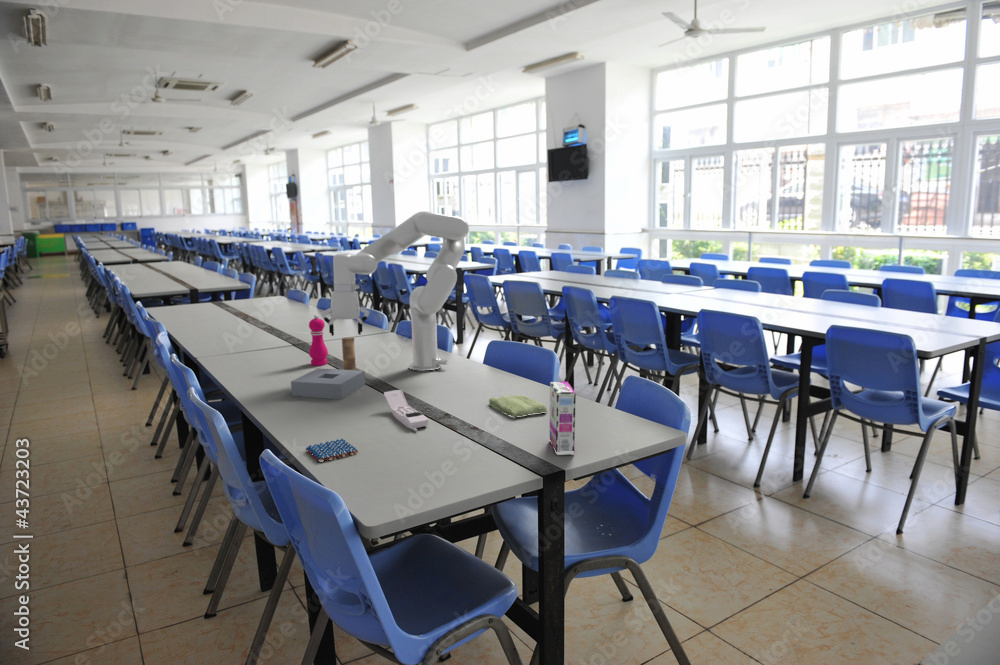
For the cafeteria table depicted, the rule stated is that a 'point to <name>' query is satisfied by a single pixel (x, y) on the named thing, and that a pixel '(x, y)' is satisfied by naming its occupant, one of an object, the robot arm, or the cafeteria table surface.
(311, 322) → the pepper mill
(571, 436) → the candy bar box
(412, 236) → the robot arm
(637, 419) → the cafeteria table surface
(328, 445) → the woven mat
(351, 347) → the peg
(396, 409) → the mobile phone
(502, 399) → the washcloth
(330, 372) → the socket block
